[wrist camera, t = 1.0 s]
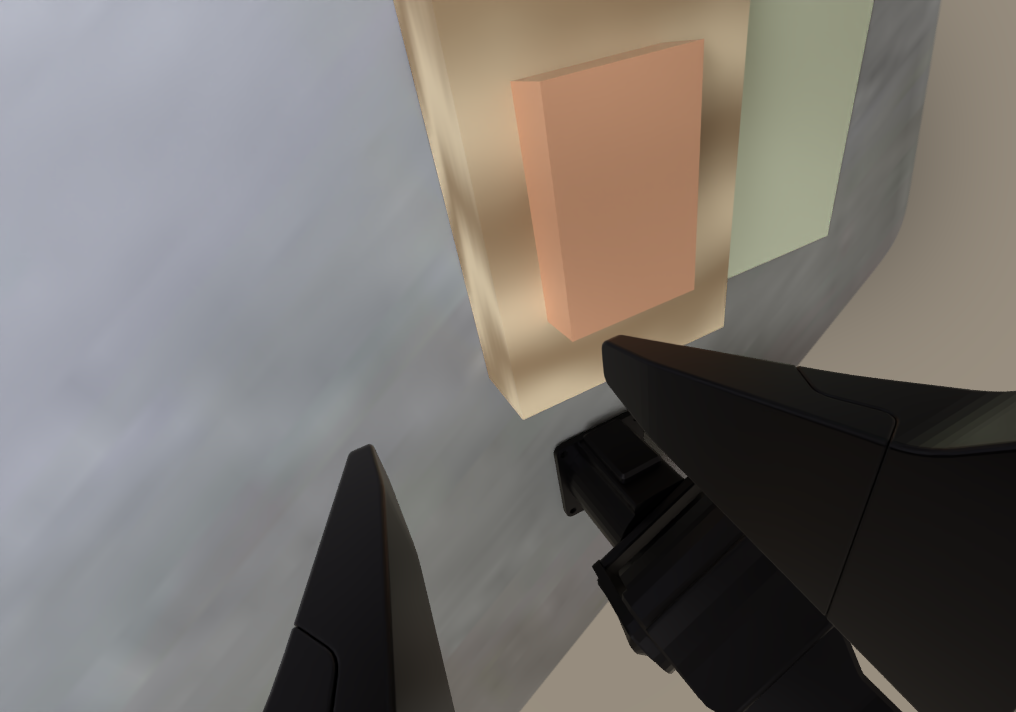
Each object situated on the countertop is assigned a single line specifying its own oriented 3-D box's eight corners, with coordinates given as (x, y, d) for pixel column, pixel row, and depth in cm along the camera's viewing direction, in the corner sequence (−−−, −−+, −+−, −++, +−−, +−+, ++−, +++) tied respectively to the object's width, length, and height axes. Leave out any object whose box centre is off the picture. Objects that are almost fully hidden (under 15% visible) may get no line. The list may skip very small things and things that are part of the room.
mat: (823, 234, 32) (827, 235, 32) (678, 296, 29) (681, 298, 29) (895, -143, 22) (902, -146, 22) (686, -111, 19) (691, -113, 19)
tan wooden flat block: (671, 299, 29) (723, 326, 26) (489, 378, 26) (523, 419, 22) (675, -110, 19) (762, -148, 16) (377, -63, 16) (410, -99, 12)
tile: (662, 274, 22) (694, 289, 20) (547, 321, 20) (572, 341, 19) (662, 42, 17) (704, 38, 15) (510, 81, 15) (539, 81, 14)
